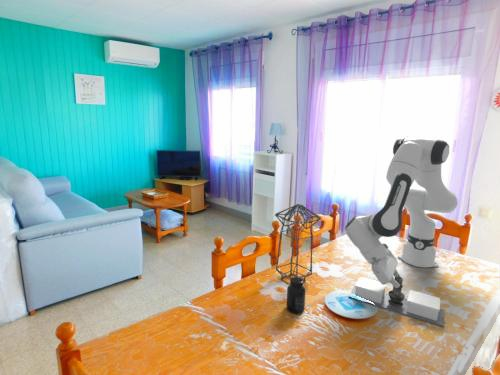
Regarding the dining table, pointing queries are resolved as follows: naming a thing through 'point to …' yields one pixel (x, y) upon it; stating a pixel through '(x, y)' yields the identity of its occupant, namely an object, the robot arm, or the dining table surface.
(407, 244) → the robot arm
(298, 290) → the supplement bottle
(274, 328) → the dining table surface
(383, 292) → the grey mounting plate
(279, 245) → the geometric lantern
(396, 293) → the dark grey upright figurine
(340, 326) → the dining table surface
